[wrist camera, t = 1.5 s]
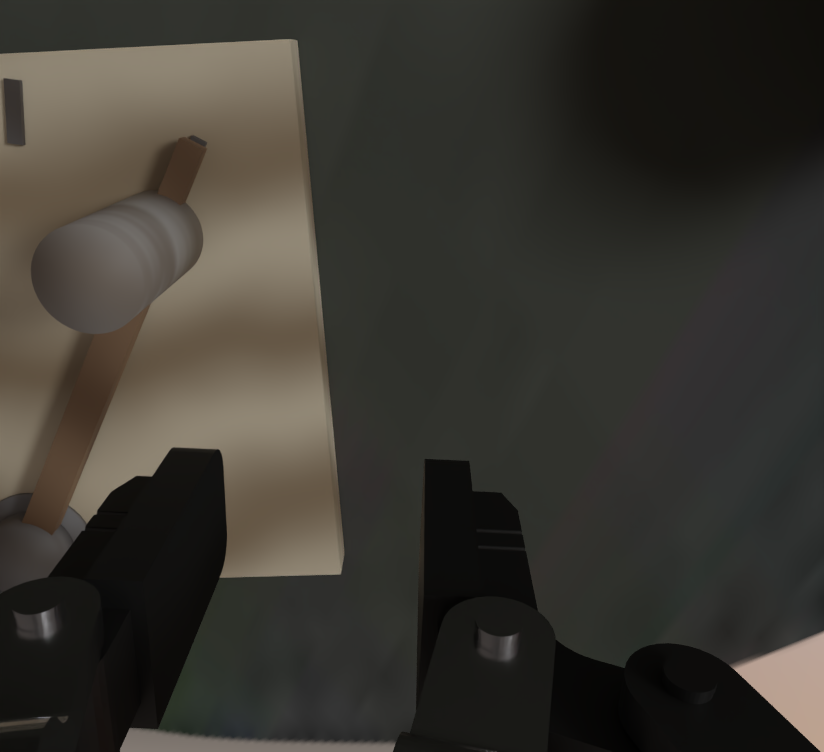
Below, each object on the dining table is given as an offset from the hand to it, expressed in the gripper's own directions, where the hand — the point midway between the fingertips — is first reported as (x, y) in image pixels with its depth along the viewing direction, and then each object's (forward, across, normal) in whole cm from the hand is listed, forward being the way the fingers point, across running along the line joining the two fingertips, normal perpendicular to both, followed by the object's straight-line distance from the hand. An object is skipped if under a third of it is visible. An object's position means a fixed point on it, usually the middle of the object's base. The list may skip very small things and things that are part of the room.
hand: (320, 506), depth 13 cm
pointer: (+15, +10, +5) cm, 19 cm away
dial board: (+17, +14, +4) cm, 22 cm away
